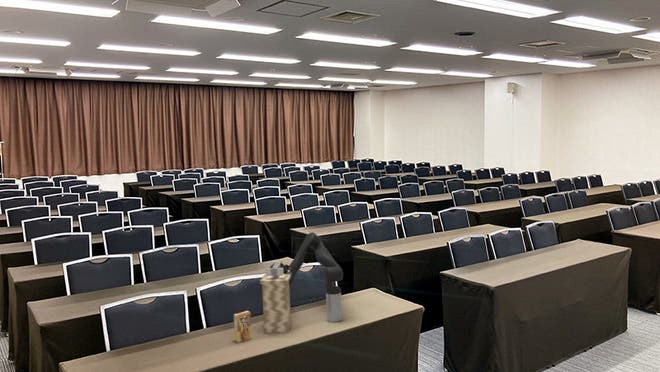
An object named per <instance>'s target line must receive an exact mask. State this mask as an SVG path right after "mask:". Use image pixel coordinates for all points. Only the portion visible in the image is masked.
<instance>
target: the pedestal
mask: <svg viewBox="0 0 660 372" xmlns="http://www.w3.org/2000/svg"><path fill="white" fill-rule="evenodd" d="M291 275H292V273H291V274H290V273H289V274H284V275H283V276H266V274H264V275H263V276H262V278H261V279H260V280H259V284H260V285H261V290H262V291H261V292H262V309H263V311H262V312H263V314H262V315H263V329H264V330H263V331H264V332H263V333H265V334H269V333H274V334H275V333H289V331H290V328H291V326H292V318H291V317H292V316H291V315H292V314H291V297H290V296H291V295H290V291H291V290H290V286H289V280H290V278H291Z"/></svg>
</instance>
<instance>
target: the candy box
mask: <svg viewBox="0 0 660 372" xmlns="http://www.w3.org/2000/svg"><path fill="white" fill-rule="evenodd" d="M233 323H234V340H235V341H236V342H237V343H241V342H244V341H247V340H251V339H252V338H253V335H252V334H253V333H252V331H253V330H252V313H251V311H249V310H245V311H242V312H238V313H234V314H233Z"/></svg>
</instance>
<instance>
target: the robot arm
mask: <svg viewBox="0 0 660 372" xmlns="http://www.w3.org/2000/svg"><path fill="white" fill-rule="evenodd" d="M308 248H310V249H311V250H313V251H314V253H315V259H316V260H317V262H318V263H319V264H320V265H321V266H322V267H324V272H323V273H324V283H325V284H324V285H325V300H326V302H325V303H326V304H325V305H326V320H327V322H331V323H339V322H342V321H343V306H342V289H341V287H340V286H338V285H334V284H333V283H335V282H340V281H342V280H343V278H344V272H343V269H342V267H341V266H340V265H339V264H338V262H336V260H335V259H334V257H333V256H332V254H331V253H330V252H329V250H328V249H327V248H326V247H325V245H324V242H323V240H322V238H321V237H320V236H318V235H317V234H316V233H315V232H312V231H311V232H309V233H308V234H307V235H306V237H305V238H304V239H303V242H302V244H301V245H300V247H299V249H298V251H297V253H296V255H295V257H294V258H293V260H292V261H291V262H290V263H289V265H288V264H284V263H283V262H282V263H281V268H283V273H284V274H290V273H291V278H290V280H289V287H291V286H292V285H293V284H294V281H295V278H296V276H297V273H298V272H299V270H300V269H301V267H302V266H303V264H304V261H305V256H306V251H307V249H308ZM275 263H276V262H273V263H272V264H271V265H270V267H269V268H272V267H273V266H274V264H275Z"/></svg>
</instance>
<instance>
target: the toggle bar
mask: <svg viewBox="0 0 660 372" xmlns="http://www.w3.org/2000/svg"><path fill="white" fill-rule="evenodd" d="M274 263H275V264H274ZM274 263H273V264H274V266H273V267H272V268H270V267H266V268H265V270H264V271H265V275H266V276H283V275H284V273H283V268H281V263H282V264H283V261H281V260H279V261H277V260H276V262H274Z"/></svg>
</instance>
